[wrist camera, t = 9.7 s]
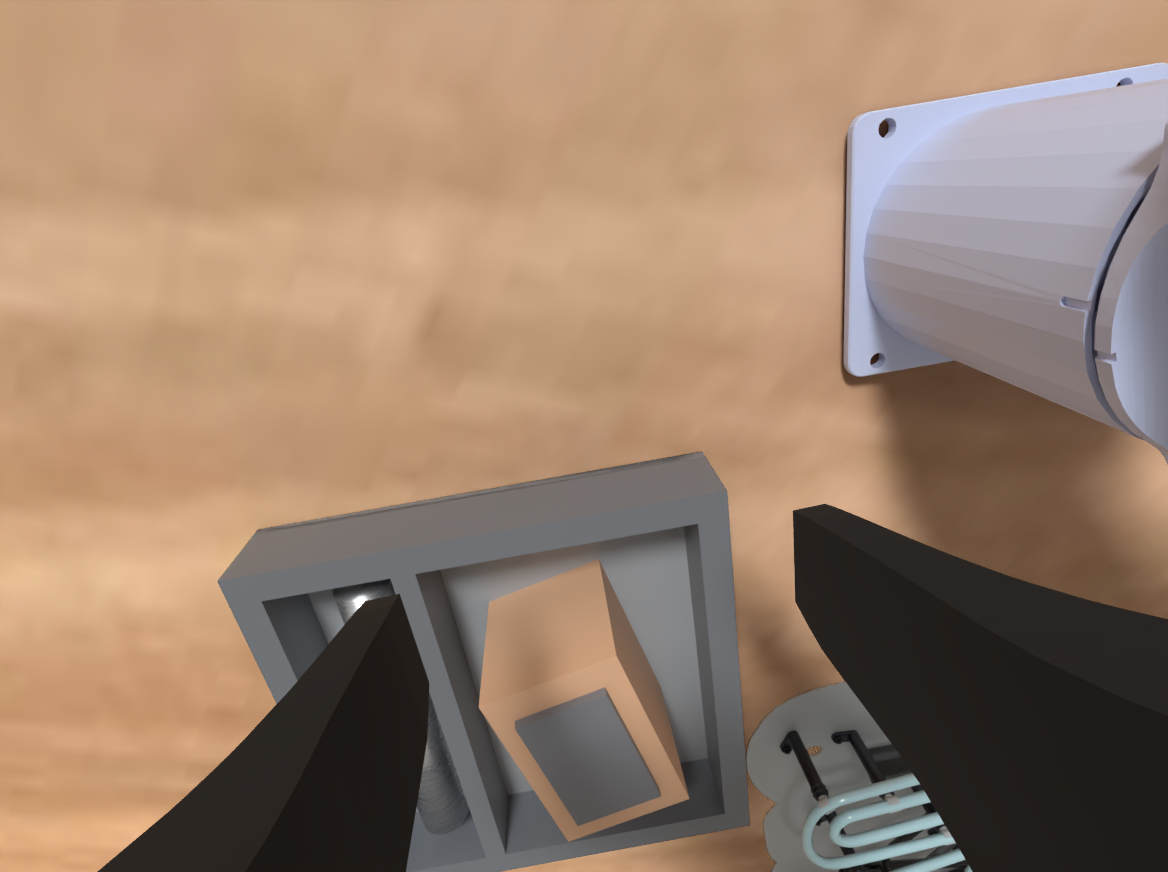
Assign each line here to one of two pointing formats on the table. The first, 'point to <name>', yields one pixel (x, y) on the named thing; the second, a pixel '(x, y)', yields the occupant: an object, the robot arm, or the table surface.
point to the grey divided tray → (459, 620)
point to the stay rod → (439, 781)
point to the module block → (579, 703)
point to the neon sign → (842, 792)
